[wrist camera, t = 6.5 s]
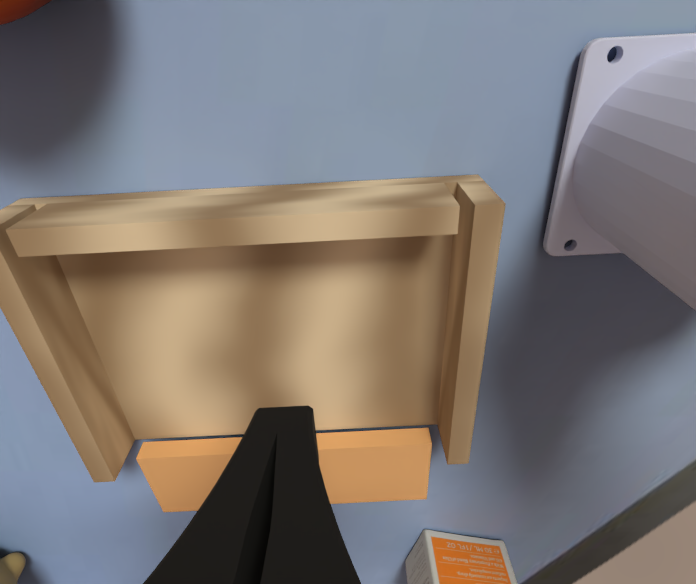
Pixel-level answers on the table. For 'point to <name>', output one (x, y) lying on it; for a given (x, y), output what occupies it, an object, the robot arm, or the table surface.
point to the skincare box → (458, 560)
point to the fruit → (18, 9)
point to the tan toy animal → (11, 568)
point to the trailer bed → (254, 307)
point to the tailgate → (334, 460)
